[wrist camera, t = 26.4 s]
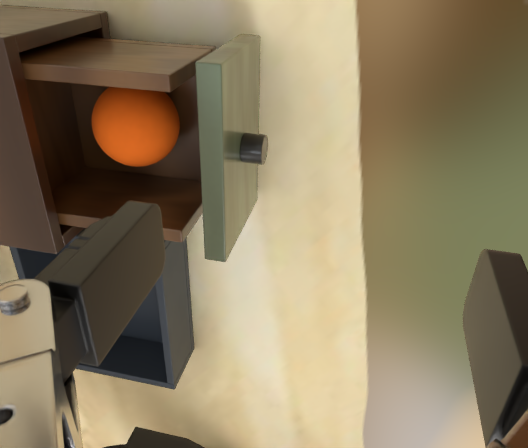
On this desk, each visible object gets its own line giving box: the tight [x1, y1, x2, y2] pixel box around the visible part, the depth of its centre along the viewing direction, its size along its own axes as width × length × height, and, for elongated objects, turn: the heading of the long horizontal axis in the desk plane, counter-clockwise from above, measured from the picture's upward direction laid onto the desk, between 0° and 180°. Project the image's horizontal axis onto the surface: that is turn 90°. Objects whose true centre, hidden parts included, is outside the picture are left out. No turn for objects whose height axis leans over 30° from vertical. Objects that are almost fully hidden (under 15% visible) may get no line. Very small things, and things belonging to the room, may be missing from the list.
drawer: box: [19, 34, 268, 262], centre depth 27 cm, size 14×10×7 cm
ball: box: [92, 87, 180, 167], centre depth 27 cm, size 5×5×5 cm
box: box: [9, 228, 194, 389], centre depth 37 cm, size 14×12×5 cm
